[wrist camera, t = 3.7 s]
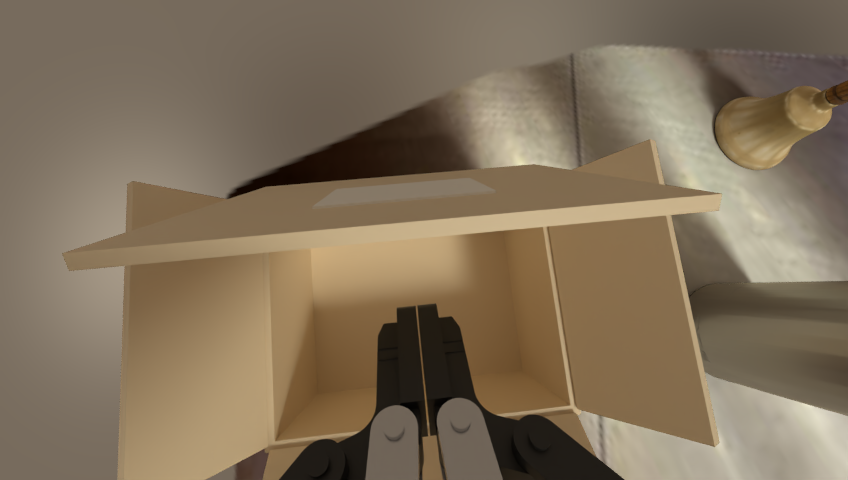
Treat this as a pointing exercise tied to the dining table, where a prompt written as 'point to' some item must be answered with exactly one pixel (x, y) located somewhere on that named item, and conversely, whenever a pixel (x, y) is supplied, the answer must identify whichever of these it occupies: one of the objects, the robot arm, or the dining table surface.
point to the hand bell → (774, 123)
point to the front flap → (391, 213)
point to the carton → (377, 304)
